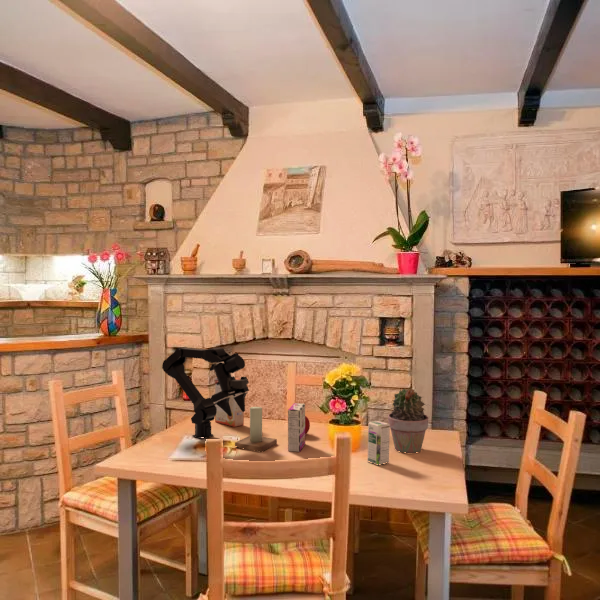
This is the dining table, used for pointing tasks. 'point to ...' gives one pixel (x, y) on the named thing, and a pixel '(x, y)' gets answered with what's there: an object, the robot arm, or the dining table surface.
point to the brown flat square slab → (256, 444)
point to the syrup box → (378, 442)
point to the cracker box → (237, 414)
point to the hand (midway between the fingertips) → (237, 413)
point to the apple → (307, 425)
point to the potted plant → (408, 421)
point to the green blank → (255, 424)
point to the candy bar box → (296, 427)
